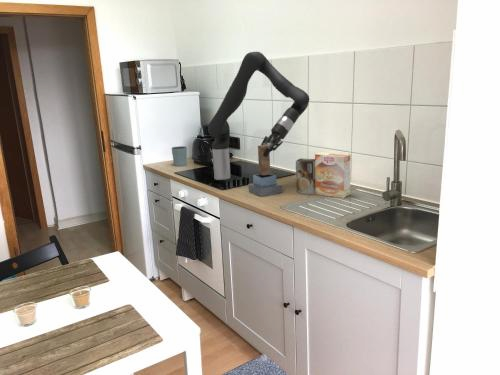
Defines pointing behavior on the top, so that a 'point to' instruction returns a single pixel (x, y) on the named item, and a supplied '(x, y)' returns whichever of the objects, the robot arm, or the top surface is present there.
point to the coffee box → (305, 176)
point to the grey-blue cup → (179, 155)
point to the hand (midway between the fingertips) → (262, 155)
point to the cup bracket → (264, 185)
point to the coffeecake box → (332, 174)
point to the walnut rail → (263, 160)
